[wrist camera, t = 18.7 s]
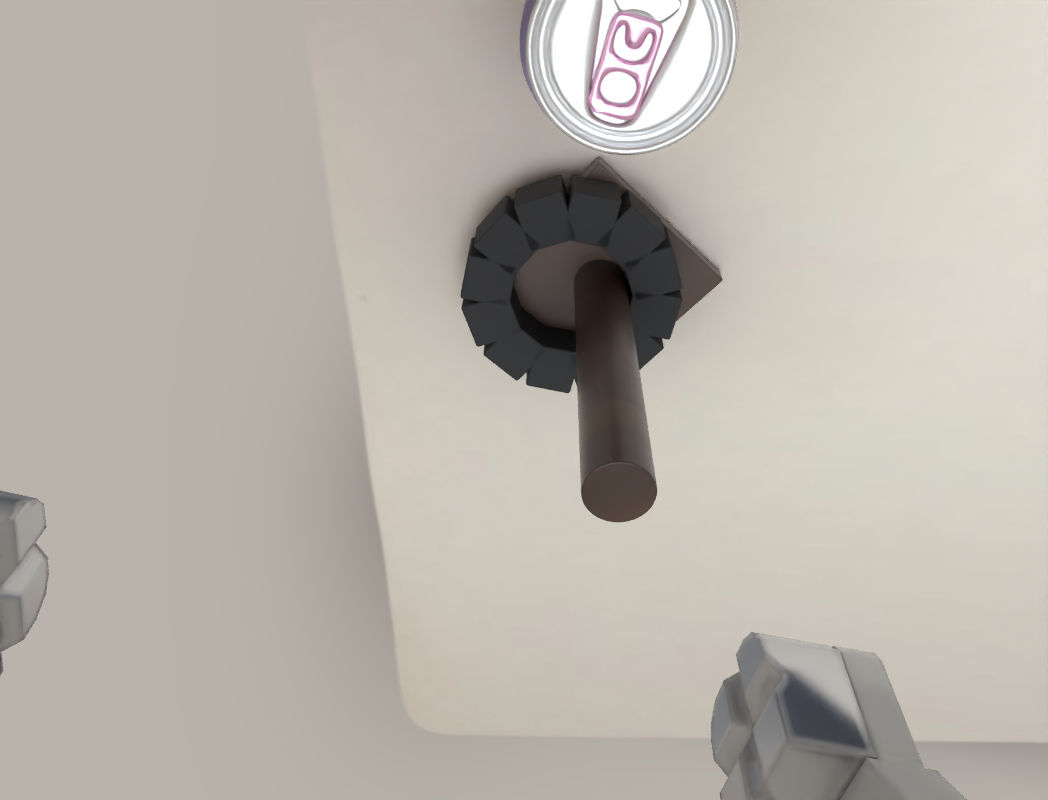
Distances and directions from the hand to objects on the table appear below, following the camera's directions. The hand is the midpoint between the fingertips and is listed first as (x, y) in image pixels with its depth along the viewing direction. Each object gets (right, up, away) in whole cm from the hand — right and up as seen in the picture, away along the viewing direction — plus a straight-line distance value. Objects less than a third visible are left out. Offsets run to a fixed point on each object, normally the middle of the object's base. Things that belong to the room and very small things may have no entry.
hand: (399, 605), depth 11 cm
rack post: (+5, +8, +34) cm, 35 cm away
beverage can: (+5, +19, +27) cm, 34 cm away
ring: (+4, +8, +33) cm, 34 cm away
